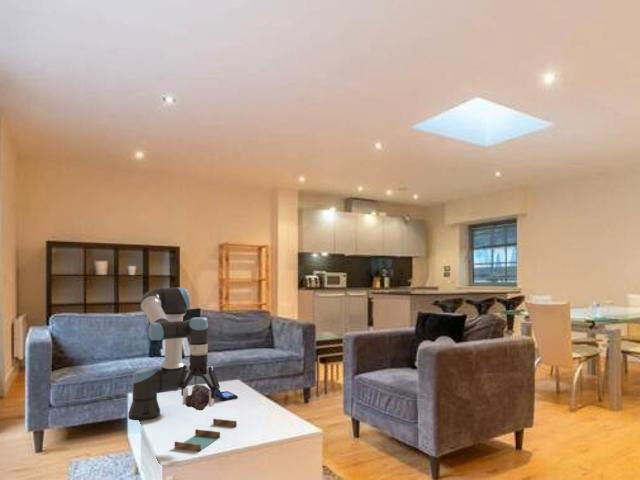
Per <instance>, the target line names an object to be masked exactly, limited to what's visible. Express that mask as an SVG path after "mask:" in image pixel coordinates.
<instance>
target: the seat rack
mask: <svg viewBox="0 0 640 480" xmlns="http://www.w3.org/2000/svg"><path fill="white" fill-rule="evenodd" d="M237 423H238V422H237V420H231V419H230V420H229V419H221V418H213V419H212V425H213V426H222V427H230V428H231V427H232V428H237V425H238V424H237ZM194 431H195V432H194V434H195V435H194V436H202V437H211V438H218V439H221V432H220V431H215V430H205V429H199V428H198V429H195V430H194ZM184 442H185V441H183V442H182V441H174V449H176V450H184V451H192V452H199V453H200V452H201V451H202V450H201V445H200V444H192V443H184Z"/></svg>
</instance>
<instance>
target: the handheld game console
mask: <svg viewBox="0 0 640 480" xmlns="http://www.w3.org/2000/svg"><path fill="white" fill-rule="evenodd" d="M215 398H218V399H219V400H220V401H223V402H225V401H226V402H227V401H231V400H237V399H238V398H239V396H238V395H236V394H235V393H232V392H231V391H229V390H228V391H221V390H220V388H219V389H217V390H216V397H215Z"/></svg>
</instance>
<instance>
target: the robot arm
mask: <svg viewBox="0 0 640 480" xmlns="http://www.w3.org/2000/svg"><path fill="white" fill-rule="evenodd" d="M139 306H140V308H141V310H142V312H143V314H146V316H147V319H148V321H149V325H148V326H149V327H148V335H149V336H148V337H149V339H150V340H151V341H163V340H164V341H165V342H164V362H163V363H162V364H161V368H160V369H158V367H157V366H150V367H148V366H147V367H144V368H141V369H138V370H136V371H134V373H133V374H132V381H131V383H132V401H131V404H130V408H129V411H128V415H127V416H128V419H129V420H131V421H146V420H152V419H155V418H157V417H159V416H160V415H161V408H160V405H159V402H158V394H161V393H166V392H167V393H169V392H177V391H181V393H180V394H181V397H182V405H185V404H186V397H187V396H188V395H189V387H188V385H189V384H190V382H191V381H192V379H193V378H194V377H201V378H202V379H203V380H204V383H206V385H207V386H208V387H207V388H208V389H210V391H209V402H208V407H209V408H211V407H213V406H215V398H217V397H216V390H217V389H219V390H220V388H221V386H220V383H219V381H218V377H217V375H216V372H215V366H214V365H211V366H208V358H209V357H208V356H209V355H208V352H209V351H208V348H209V345H208V344H209V343H208V338H209V337H208V334H209V333H208V332H209V330H208V328H209V325H208V318H207V317H203V316H202V317H200V316H197V317H196V316H195V317H191V318H190V319H187V320H184V316H185V315H186V314H187V310H189V309H190V307H191V299H190V294H189V291H188V289H187V288H185V287H162V288H161V287H159V288H157V287H156V288H153V289H150V290H148V291H147V292H146V293H145V294H143V296H142V297H141V299H140V305H139ZM186 338H187V339H189V354H190V355H189V364H185V363H184V362H183V361H182V360H183V359H182V358H183V339H186ZM189 371H190V372H189Z"/></svg>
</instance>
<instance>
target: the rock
mask: <svg viewBox="0 0 640 480" xmlns="http://www.w3.org/2000/svg"><path fill="white" fill-rule="evenodd" d="M191 389H192V390H191V394H190V395H189V394H188V396H187V397H186V404H184V405H185V406H186V407H187V408H193V409H195V410H196V411H198V412H199V411H203V410H205V408H206V407H207V406H208V405H209V391H210V388H209V387H207V386H205V385H203V384H195V385H193V386H192V388H191Z"/></svg>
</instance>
